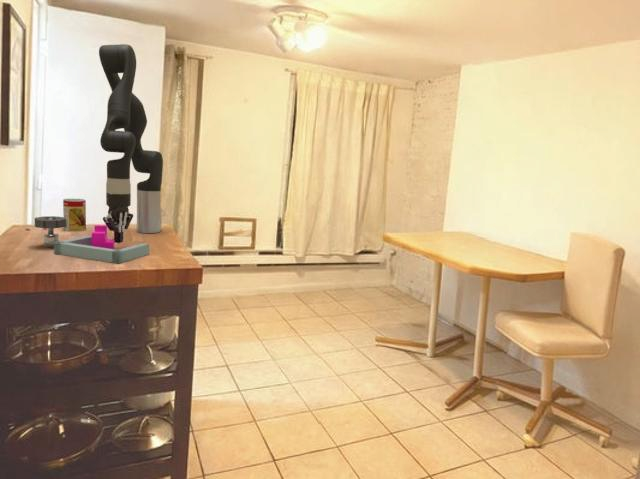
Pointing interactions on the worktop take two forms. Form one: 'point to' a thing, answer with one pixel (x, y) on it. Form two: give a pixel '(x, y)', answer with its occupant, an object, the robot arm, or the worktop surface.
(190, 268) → the worktop surface
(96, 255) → the grey u-shaped bracket
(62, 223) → the wheel
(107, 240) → the toy block
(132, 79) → the robot arm
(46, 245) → the axle hub
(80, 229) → the canned food
